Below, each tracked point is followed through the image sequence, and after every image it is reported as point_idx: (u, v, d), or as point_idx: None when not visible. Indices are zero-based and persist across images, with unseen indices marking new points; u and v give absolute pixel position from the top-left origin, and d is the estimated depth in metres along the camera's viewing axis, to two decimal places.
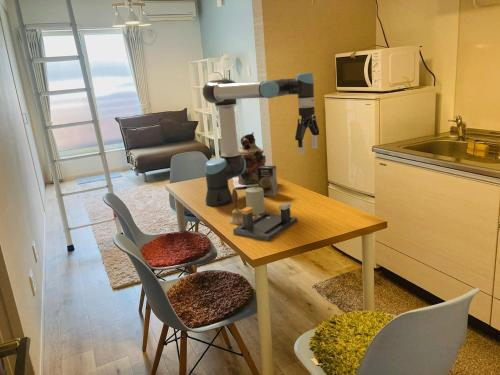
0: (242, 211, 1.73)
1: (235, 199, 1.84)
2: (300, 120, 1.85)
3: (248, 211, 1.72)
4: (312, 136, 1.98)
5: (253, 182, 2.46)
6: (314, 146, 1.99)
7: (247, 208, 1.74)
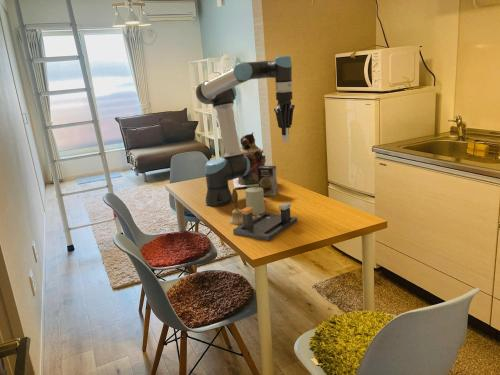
0: (242, 211, 1.73)
1: (235, 199, 1.84)
2: (276, 110, 1.82)
3: (248, 211, 1.72)
4: None
5: (253, 182, 2.46)
6: None
7: (247, 208, 1.74)
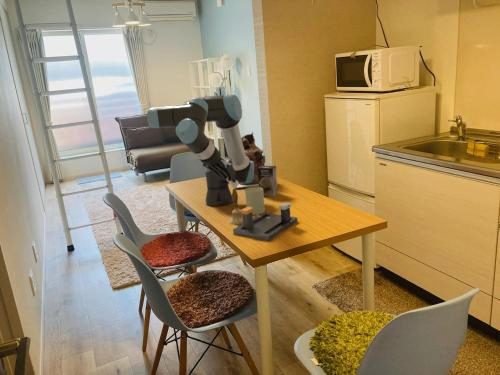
0: (242, 211, 1.73)
1: (235, 199, 1.84)
2: None
3: (248, 211, 1.72)
4: None
5: (253, 182, 2.46)
6: None
7: (247, 208, 1.74)
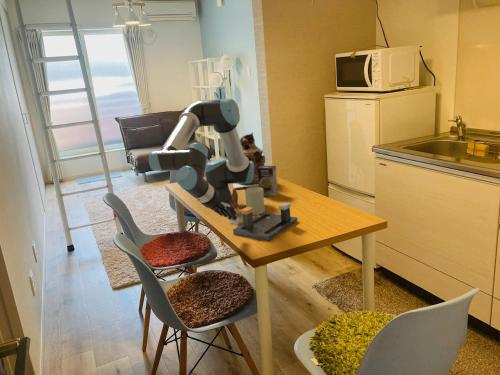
0: (242, 211, 1.73)
1: (235, 199, 1.84)
2: None
3: (248, 211, 1.72)
4: None
5: (253, 182, 2.45)
6: None
7: (247, 208, 1.74)
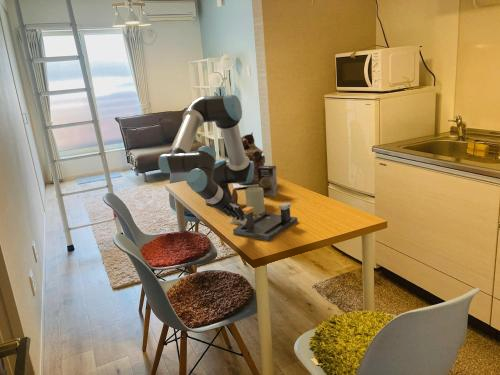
0: (243, 211, 1.73)
1: (235, 199, 1.84)
2: None
3: (249, 211, 1.73)
4: None
5: (252, 182, 2.45)
6: None
7: (248, 208, 1.75)
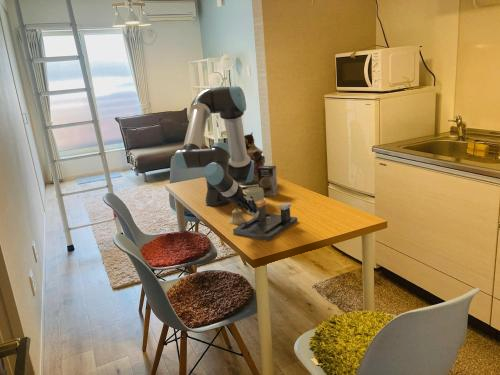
0: None
1: None
2: None
3: (261, 204, 1.80)
4: None
5: (252, 182, 2.45)
6: None
7: (260, 201, 1.82)
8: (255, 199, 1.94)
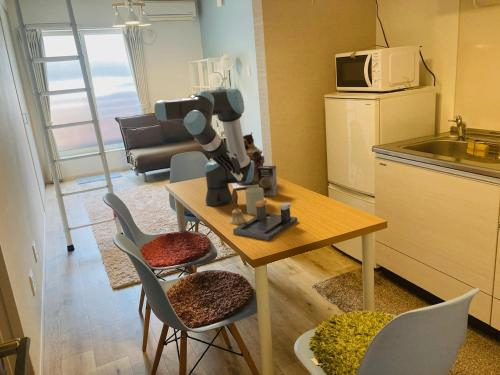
0: (256, 204, 1.81)
1: (235, 199, 1.84)
2: None
3: (262, 204, 1.80)
4: None
5: (252, 183, 2.45)
6: None
7: (261, 201, 1.82)
8: (255, 199, 1.94)
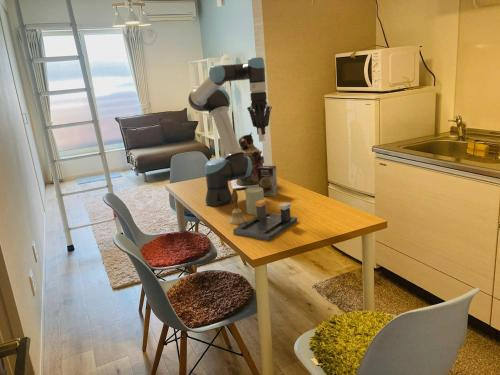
0: (256, 204, 1.81)
1: (235, 199, 1.84)
2: None
3: (262, 204, 1.80)
4: None
5: (251, 183, 2.44)
6: None
7: (261, 201, 1.82)
8: (255, 199, 1.94)
